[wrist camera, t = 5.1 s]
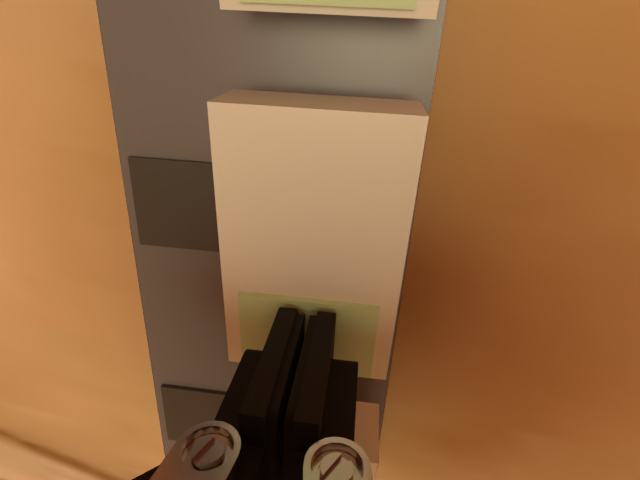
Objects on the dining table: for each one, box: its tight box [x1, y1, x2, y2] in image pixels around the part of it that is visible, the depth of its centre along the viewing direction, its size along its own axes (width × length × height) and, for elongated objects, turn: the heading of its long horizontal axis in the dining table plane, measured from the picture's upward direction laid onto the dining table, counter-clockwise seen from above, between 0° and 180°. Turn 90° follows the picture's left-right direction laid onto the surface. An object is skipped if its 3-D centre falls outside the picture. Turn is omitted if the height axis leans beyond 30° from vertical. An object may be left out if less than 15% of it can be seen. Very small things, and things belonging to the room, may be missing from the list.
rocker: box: [354, 401, 379, 480], centre depth 16 cm, size 5×8×2 cm, turn 177°
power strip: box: [96, 0, 447, 457], centre depth 14 cm, size 10×40×5 cm, turn 177°
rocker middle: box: [207, 89, 429, 380], centre depth 12 cm, size 5×8×2 cm, turn 177°
